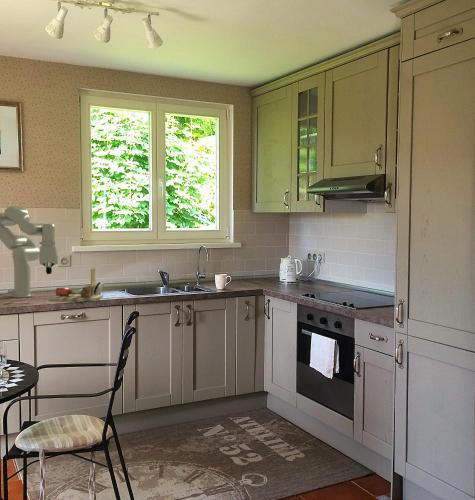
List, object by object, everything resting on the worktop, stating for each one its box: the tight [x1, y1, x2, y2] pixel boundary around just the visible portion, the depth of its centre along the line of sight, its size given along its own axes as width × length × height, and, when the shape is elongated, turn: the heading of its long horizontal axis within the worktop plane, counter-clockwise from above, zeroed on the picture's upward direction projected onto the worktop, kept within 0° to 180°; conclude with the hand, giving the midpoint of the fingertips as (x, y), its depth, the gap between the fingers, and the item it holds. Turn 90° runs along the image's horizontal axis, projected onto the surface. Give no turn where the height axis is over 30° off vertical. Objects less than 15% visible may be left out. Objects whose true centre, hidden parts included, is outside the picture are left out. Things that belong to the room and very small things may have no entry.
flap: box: [90, 267, 96, 287], centre depth 345 cm, size 1×10×11 cm, turn 3°
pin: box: [55, 287, 82, 297], centre depth 345 cm, size 19×5×5 cm, turn 93°
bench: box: [56, 284, 104, 302], centre depth 345 cm, size 25×14×8 cm, turn 94°
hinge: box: [94, 281, 105, 295], centre depth 364 cm, size 17×5×10 cm, turn 3°
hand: (48, 273), depth 343 cm, fingers closed
